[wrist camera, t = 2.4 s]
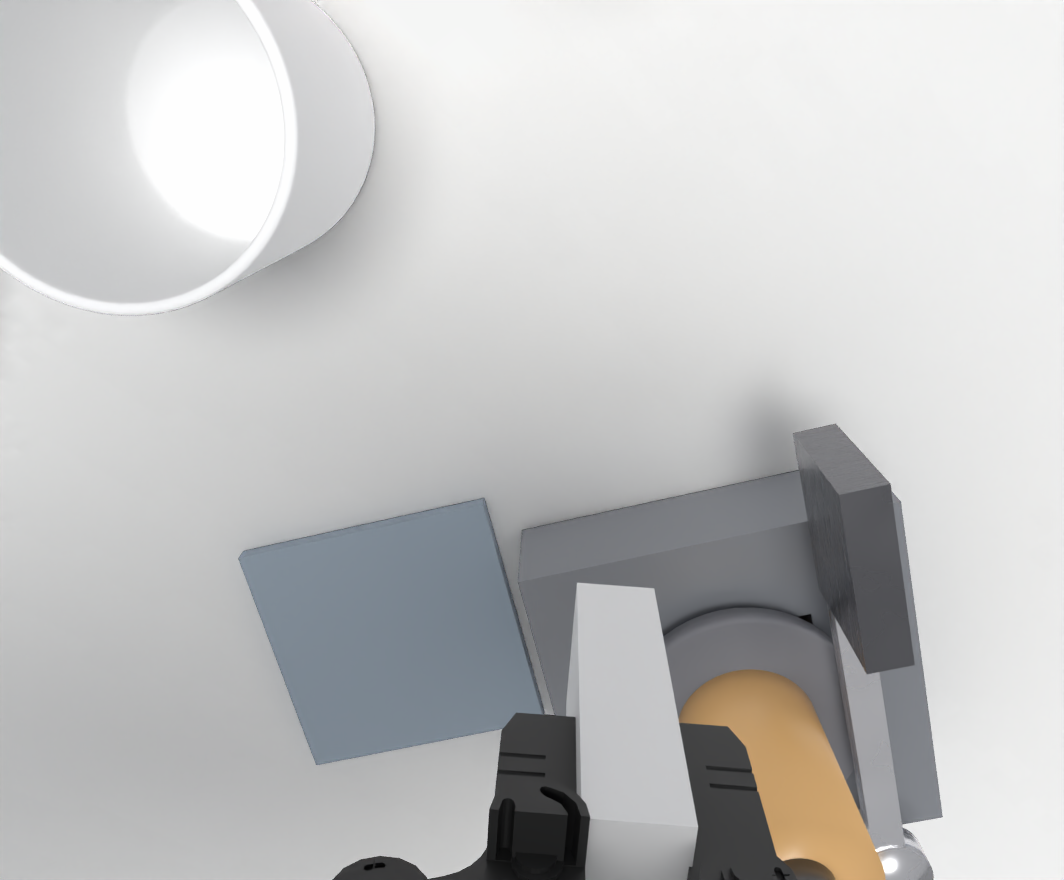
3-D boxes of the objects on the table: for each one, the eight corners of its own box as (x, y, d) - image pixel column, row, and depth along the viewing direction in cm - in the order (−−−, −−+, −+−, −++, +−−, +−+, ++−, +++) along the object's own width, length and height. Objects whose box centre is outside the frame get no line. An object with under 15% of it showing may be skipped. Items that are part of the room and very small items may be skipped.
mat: (319, 755, 37) (316, 765, 37) (243, 550, 35) (238, 558, 34) (544, 711, 36) (543, 720, 36) (484, 497, 34) (482, 504, 33)
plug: (638, 744, 37) (680, 1061, 25) (595, 571, 34) (618, 824, 22) (836, 707, 36) (982, 1013, 24) (806, 527, 34) (950, 764, 21)
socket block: (595, 801, 38) (601, 904, 33) (521, 530, 34) (516, 600, 29) (902, 744, 37) (956, 842, 32) (860, 456, 33) (914, 517, 28)
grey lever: (849, 885, 32) (896, 1006, 28) (771, 437, 27) (813, 500, 23) (922, 872, 32) (981, 993, 27) (857, 419, 27) (916, 478, 22)
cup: (272, 306, 32) (150, 390, 22) (-39, 43, 29) (-329, 9, 20) (435, 110, 30) (377, 108, 20) (113, -190, 27) (-128, -358, 18)
